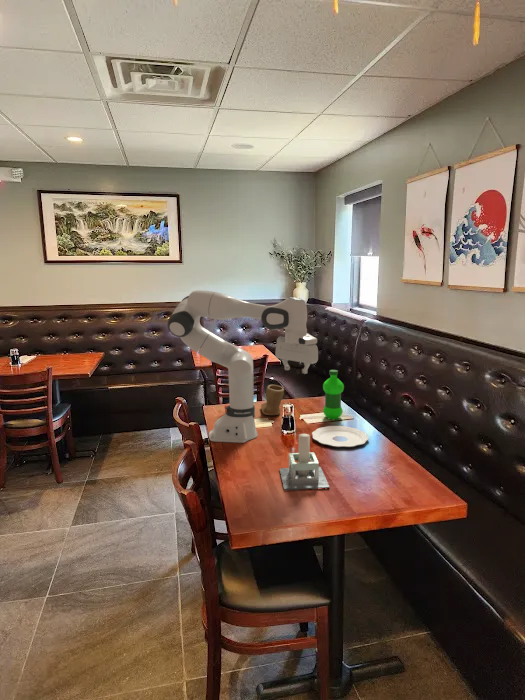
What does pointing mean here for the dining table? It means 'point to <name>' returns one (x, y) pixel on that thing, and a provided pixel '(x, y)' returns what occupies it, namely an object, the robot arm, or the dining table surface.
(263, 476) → the dining table surface
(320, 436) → the plate
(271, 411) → the stone cup
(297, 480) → the collar holder
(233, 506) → the dining table surface
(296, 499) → the dining table surface
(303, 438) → the cream tall rounded cylinder
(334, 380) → the plastic bottle
